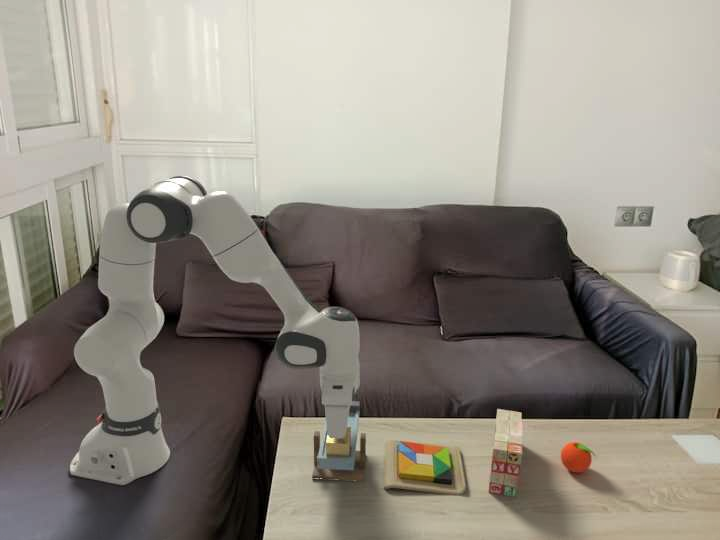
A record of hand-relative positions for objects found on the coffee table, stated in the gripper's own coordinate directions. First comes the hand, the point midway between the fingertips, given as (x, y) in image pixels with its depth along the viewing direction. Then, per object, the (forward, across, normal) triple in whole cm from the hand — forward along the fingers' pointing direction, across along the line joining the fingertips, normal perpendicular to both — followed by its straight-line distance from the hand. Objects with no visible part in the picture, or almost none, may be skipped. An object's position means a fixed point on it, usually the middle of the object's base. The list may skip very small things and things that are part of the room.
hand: (340, 431), depth 130 cm
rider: (+3, +4, 0) cm, 5 cm away
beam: (+4, -3, 0) cm, 5 cm away
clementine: (+13, -5, +56) cm, 58 cm away
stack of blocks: (+13, -5, +39) cm, 42 cm away
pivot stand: (+12, -3, 0) cm, 12 cm away
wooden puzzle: (+13, -4, +20) cm, 24 cm away
